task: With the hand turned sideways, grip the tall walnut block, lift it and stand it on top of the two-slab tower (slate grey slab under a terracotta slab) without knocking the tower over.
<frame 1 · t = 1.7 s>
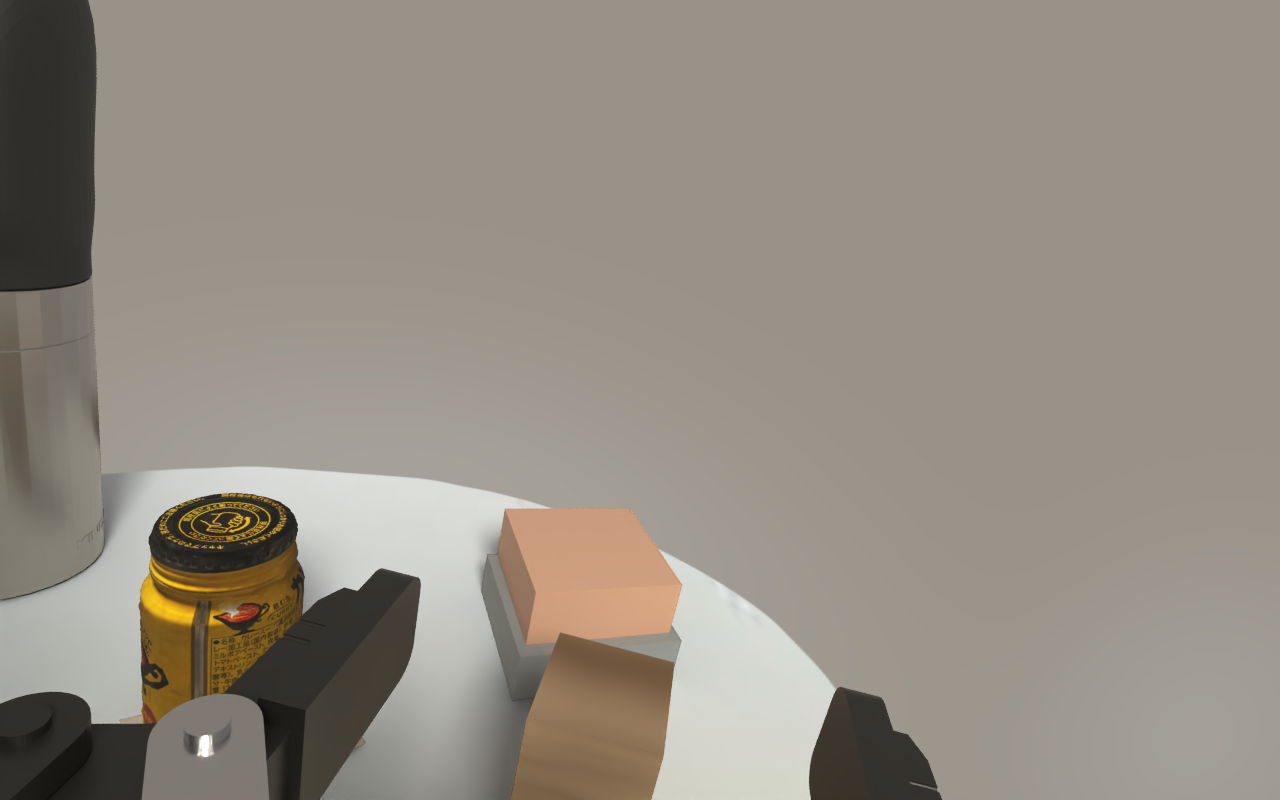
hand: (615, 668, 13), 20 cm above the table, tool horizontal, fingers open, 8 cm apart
tower top: (579, 591, 44), point 3 cm above the table, touching tower bottom
tower bottom: (570, 640, 44), on the table, touching tower top
condiment: (245, 739, 32), on the table
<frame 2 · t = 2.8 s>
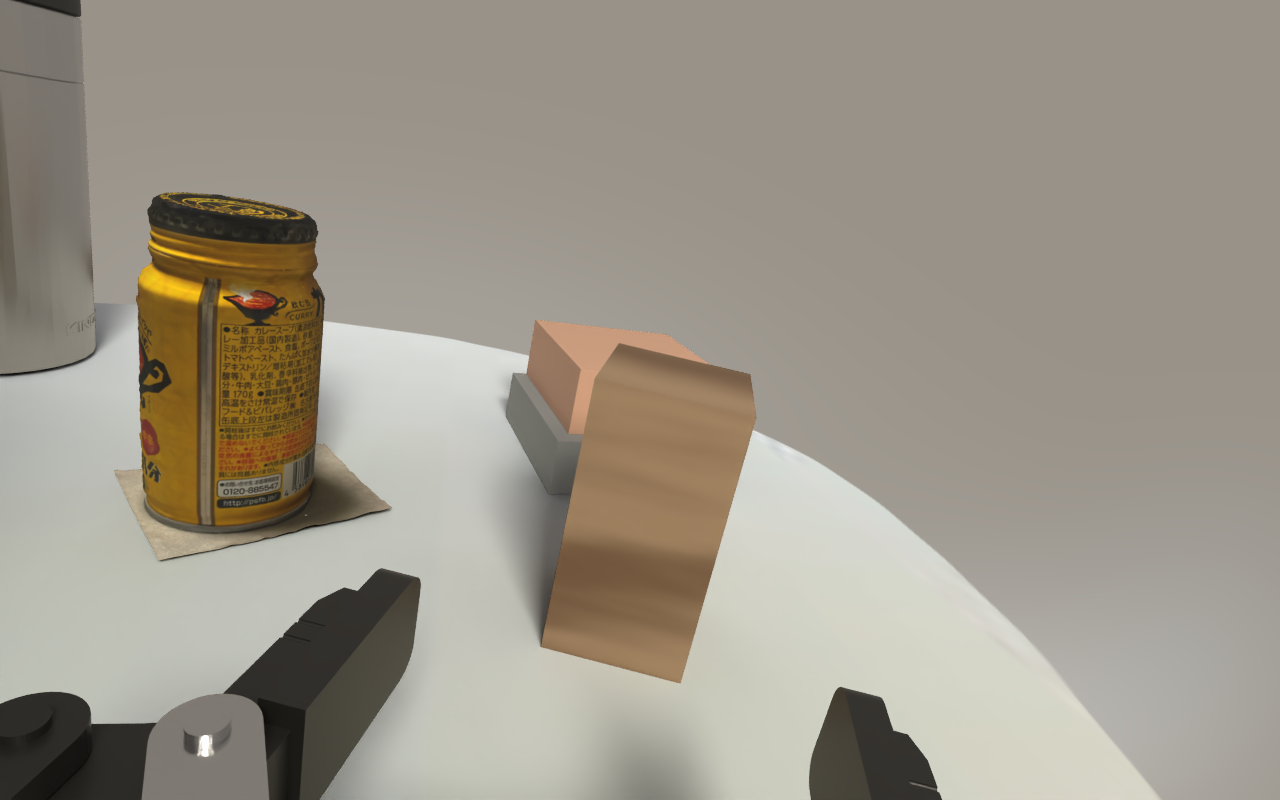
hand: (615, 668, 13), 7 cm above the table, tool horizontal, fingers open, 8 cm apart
tall block: (620, 621, 26), on the table
tower top: (618, 405, 40), point 3 cm above the table, touching tower bottom
tower bottom: (604, 461, 41), on the table, touching tower top
condiment: (256, 499, 29), on the table
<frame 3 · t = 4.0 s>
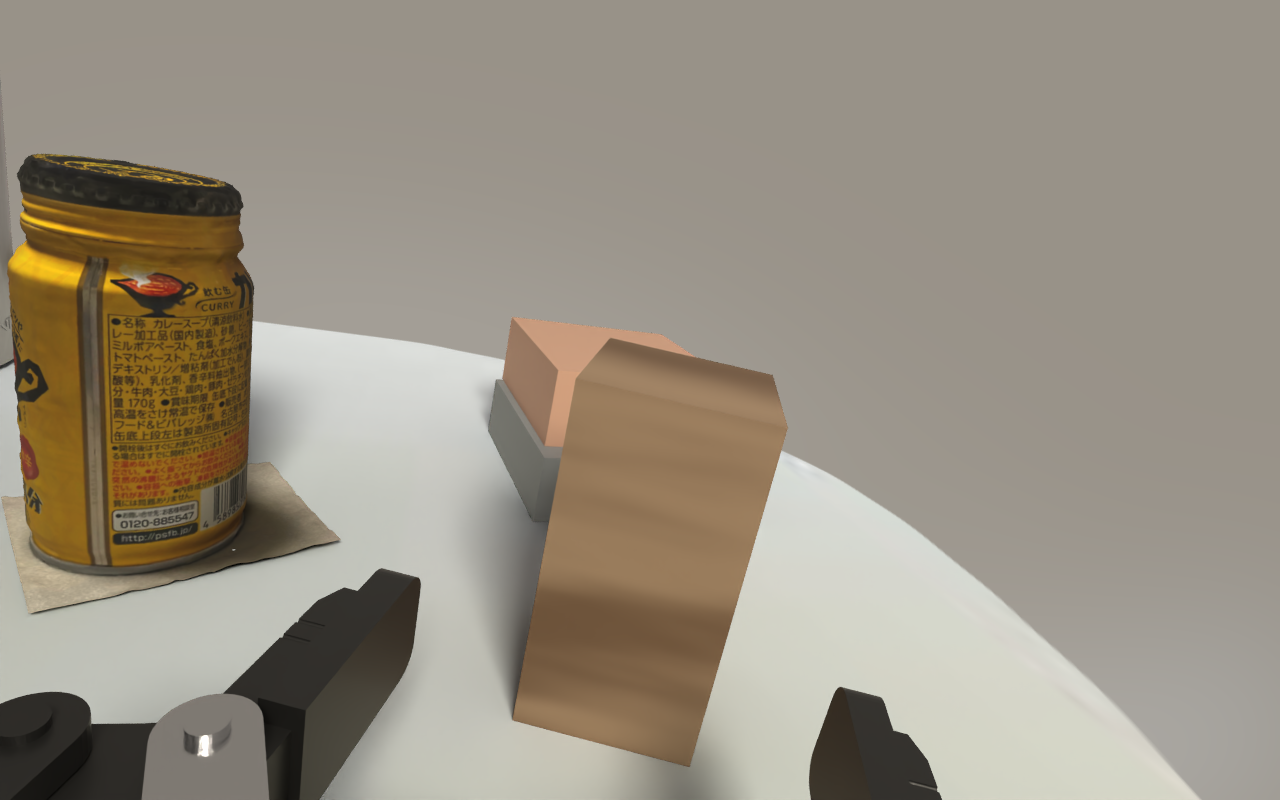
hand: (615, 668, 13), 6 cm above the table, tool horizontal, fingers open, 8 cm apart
tall block: (614, 681, 21), on the table
tower top: (605, 413, 35), point 3 cm above the table, touching tower bottom
tower bottom: (599, 479, 36), on the table, touching tower top
condiment: (176, 531, 24), on the table
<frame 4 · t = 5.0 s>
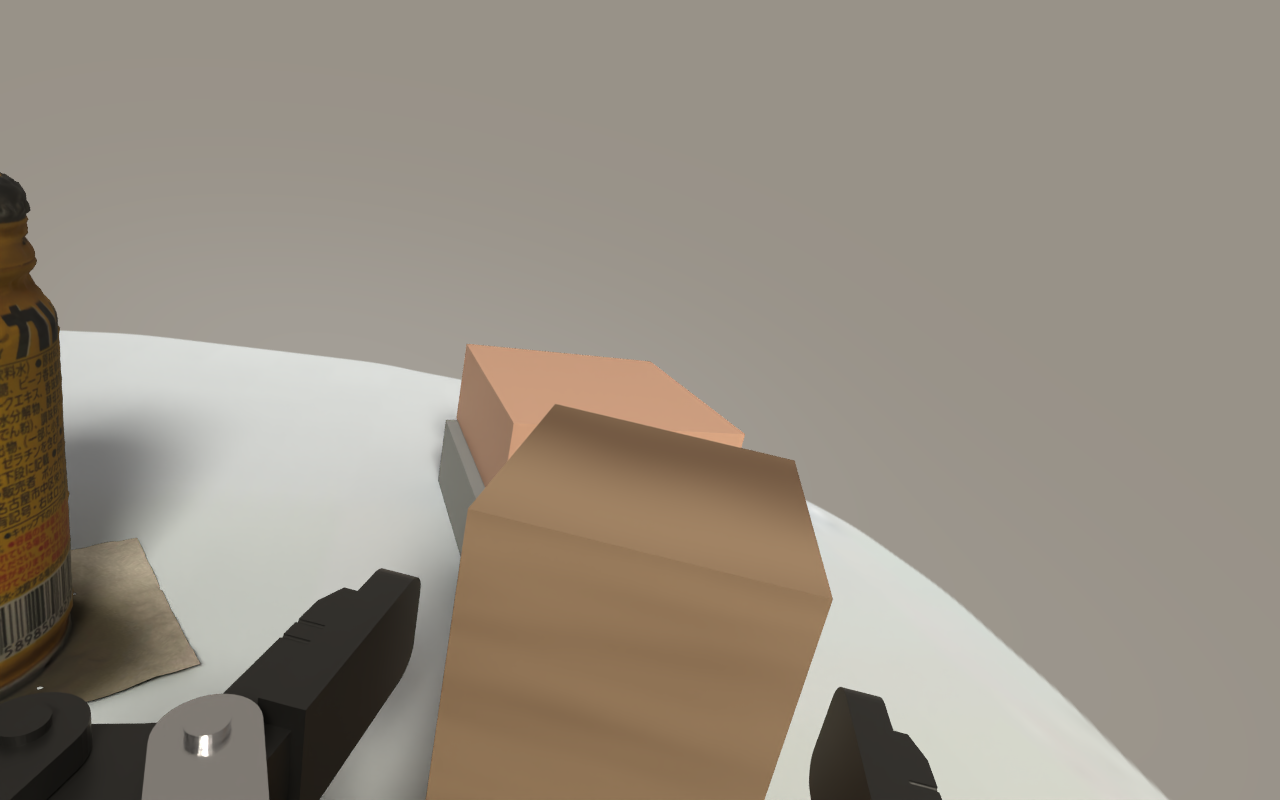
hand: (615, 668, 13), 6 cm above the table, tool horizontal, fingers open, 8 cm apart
tower top: (580, 463, 29), point 3 cm above the table, touching tower bottom
tower bottom: (571, 544, 29), on the table, touching tower top
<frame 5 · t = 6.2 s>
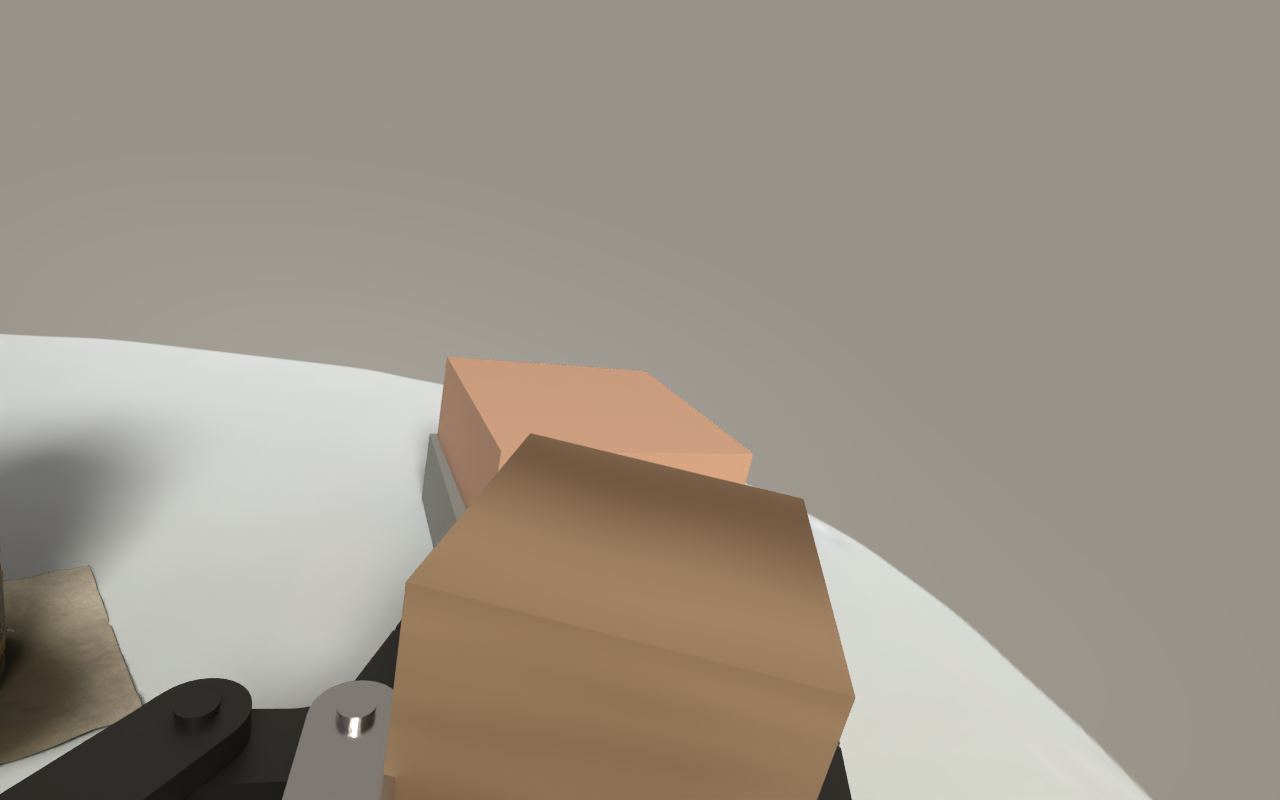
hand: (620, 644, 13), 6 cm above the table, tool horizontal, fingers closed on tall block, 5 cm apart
tower top: (573, 485, 26), point 3 cm above the table
tower bottom: (563, 567, 27), on the table
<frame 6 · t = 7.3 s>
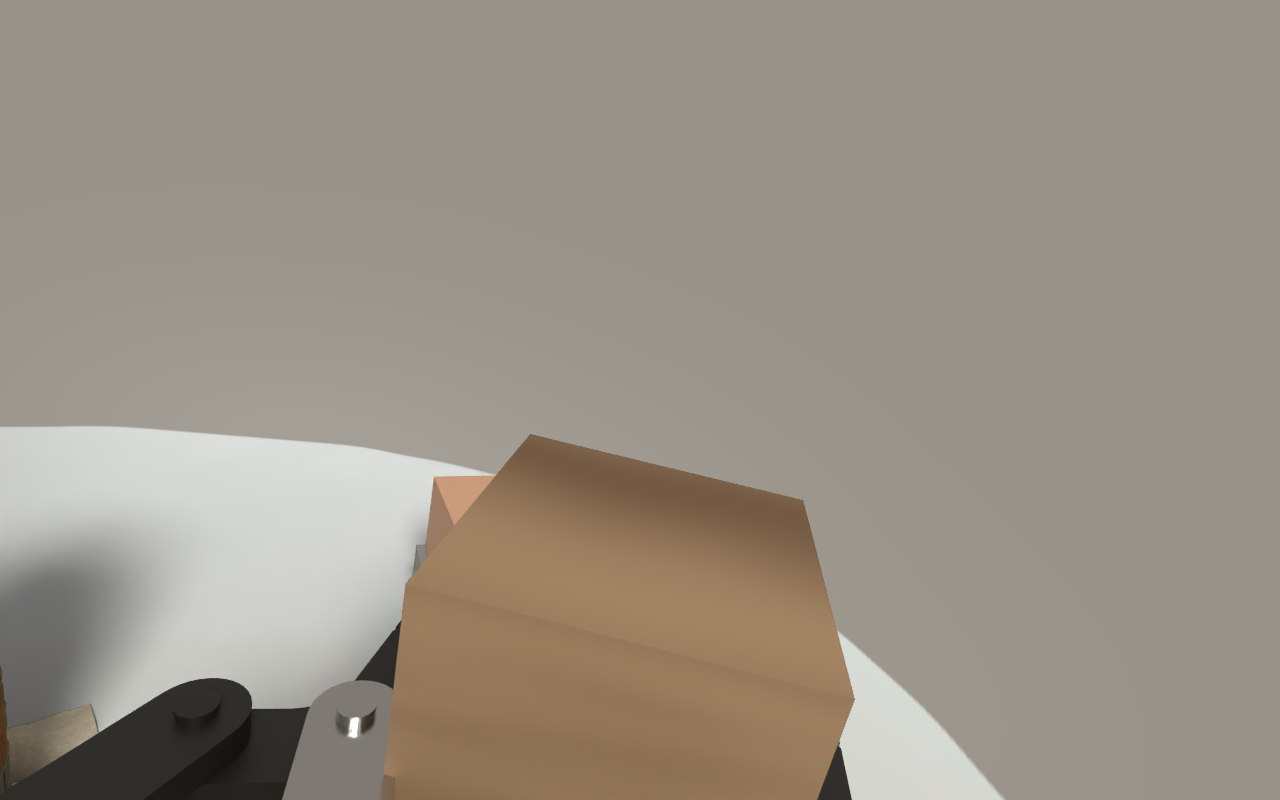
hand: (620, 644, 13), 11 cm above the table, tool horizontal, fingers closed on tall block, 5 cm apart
tower top: (558, 601, 28), point 3 cm above the table, touching tower bottom
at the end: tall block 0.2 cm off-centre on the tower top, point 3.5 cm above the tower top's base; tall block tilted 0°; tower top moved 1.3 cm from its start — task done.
